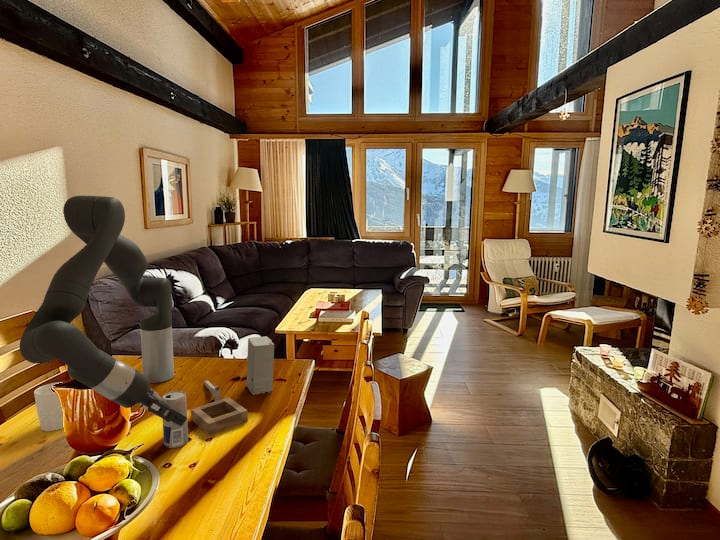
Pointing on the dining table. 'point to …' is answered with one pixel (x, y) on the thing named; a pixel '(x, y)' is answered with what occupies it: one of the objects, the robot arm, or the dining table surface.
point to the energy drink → (172, 431)
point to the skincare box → (260, 365)
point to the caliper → (213, 390)
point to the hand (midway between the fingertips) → (176, 415)
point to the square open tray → (223, 422)
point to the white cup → (48, 408)
